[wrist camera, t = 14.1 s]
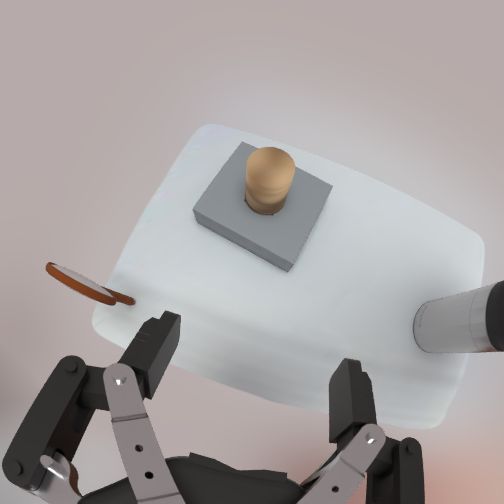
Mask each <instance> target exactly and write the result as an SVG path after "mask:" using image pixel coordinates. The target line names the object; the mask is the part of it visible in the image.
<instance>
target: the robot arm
mask: <svg viewBox="0 0 504 504" xmlns="http://www.w3.org/2000/svg"><path fill="white" fill-rule="evenodd" d="M180 323H181V315H178V314H175V313H172V312H169V311H165V312H164V313H163V314H162V316H161V318H160V319H156V318H153V317H152V318H151V319H149V320H147V321H146V322H144V323H143V325H142V326H141V328H140V329H139V332H137V334H136V336H135V338H134V339H133V340H132V342H131V343H130V345H129V346H128V348H127V349H126V351H125V352H124V354H123V356H122V357H121V359H120V360H119V361H118V362H117V363H116V364H112V365H110V366H108V367H107V368H100V367H94V366H88V365H86V364H85V362H84V361H83V360H82V359H81V358H80V357H77V356H66V357H64V358H63V359H61V360H60V362H59V363H58V364H57V366H56V368H55V369H54V370H53V372H52V374H51V375H50V377H49V378H48V380H47V382H46V383H45V384H44V386H43V388H42V389H41V391H40V393H39V394H38V396H37V398H36V399H35V401H34V402H33V404H32V406H31V408H30V409H29V411H28V413H27V415H26V416H25V418H24V420H23V422H22V423H21V425H20V427H19V429H18V431H17V433H16V435H15V436H14V438H13V440H12V442H11V444H10V446H9V448H8V450H7V453H6V454H5V457H4V459H3V462H2V468H3V472H4V474H5V476H6V477H7V479H8V480H9V481H10V482H12V483H13V484H15V485H17V486H19V487H20V488H22V489H23V490H25V491H27V492H29V493H31V494H33V495H36V496H38V497H40V498H42V499H43V500H45V501H46V502H48V503H49V504H345V503H346V502H347V500H348V499H349V498H350V497H351V496H352V494H353V493H354V492H355V491H356V489H357V488H358V487H359V485H360V484H361V483H362V481H363V480H364V478H365V476H364V472H367V490H366V504H425V494H424V493H425V492H424V472H423V460H422V449H421V445H420V444H419V442H418V441H417V440H416V439H414V438H410V437H408V438H405V439H403V440H402V441H398V440H395V439H392V438H389V437H387V436H385V433H384V431H383V429H382V428H381V427H379V426H378V425H377V420H376V412H375V404H374V399H373V391H372V383H371V380H370V378H369V376H368V374H367V373H366V372H362V368H361V363H360V361H359V360H353V359H348V358H345V359H343V361H342V362H341V364H340V365H339V367H338V368H337V370H336V371H335V372H334V374H333V375H332V377H331V379H330V383H329V418H330V419H329V443H337V449H335V450H334V452H333V453H332V454H331V455H330V456H329V457H328V458H327V459H326V460H325V461H324V462H323V463H322V464H321V466H320V467H319V468H318V469H317V470H316V471H315V472H314V473H313V474H312V475H310V476H309V477H308V478H307V479H305V480H304V481H303V482H302V483H301V484H300V485H299V484H297V483H296V482H294V481H292V480H290V479H288V478H287V473H284V472H275V471H270V470H242V471H240V470H236V469H234V468H231V467H230V466H227V465H225V464H223V463H221V462H219V461H217V460H215V459H212V458H208V457H205V456H201V455H198V454H194V453H191V452H190V455H189V457H187V456H177V457H170V458H166V459H164V457H163V455H162V452H161V450H160V447H159V444H158V442H157V439H156V437H155V434H154V431H153V428H152V426H151V423H150V420H149V417H148V415H147V413H146V410H145V407H144V404H143V400H144V398H145V397H146V398H148V399H152V397H153V395H154V393H155V391H156V389H157V387H158V385H159V383H160V380H161V379H162V376H163V374H164V372H165V370H166V368H167V366H168V364H169V362H170V360H171V358H172V356H173V354H174V352H175V350H176V348H177V345H178V342H179V337H180ZM414 336H415V340H416V342H417V344H418V345H419V347H420V348H421V349H422V350H424V351H426V352H432V353H479V352H500V351H501V352H503V351H504V281H501V282H498V283H495V284H491V285H488V286H485V287H482V288H478V289H475V290H471V291H468V292H464V293H461V294H457V295H453V296H449V297H445V298H441V299H437V300H434V301H430V302H427V303H425V304H424V305H423V306H422V307H421V308H420V309H419V311H418V312H417V314H416V317H415V321H414ZM96 409H100V410H106V411H110V413H111V417H112V420H111V421H112V426H113V430H114V434H115V438H116V441H117V444H118V448H119V451H120V454H121V458H122V461H123V464H124V467H125V470H126V472H127V475H128V477H126V478H124V479H122V480H120V481H117V482H115V483H113V484H110V485H108V486H106V487H103V488H101V489H98V490H96V491H93V492H90V493H88V494H86V495H84V496H82V495H81V493H80V492H79V489H78V486H77V485H78V472H77V470H76V468H75V467H74V465H73V464H72V463H71V461H72V459H73V457H74V455H75V452H76V450H77V448H78V445H79V443H80V441H81V439H82V437H83V435H84V433H85V430H86V428H87V426H88V424H89V422H90V420H91V418H92V416H93V414H94V412H95V410H96Z"/></svg>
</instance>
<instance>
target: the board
mask: <svg viewBox="0 0 504 504" xmlns="http://www.w3.org/2000/svg"><path fill="white" fill-rule="evenodd" d="M256 150H258V148H256V147H254V146H251V145H249V144H247V143H245V142H241V144H240V145H239V146H238V148H237V149H236V150H235V151H234V153H233V154H232V155H231V157H230V158H229V159H228V161H227V162H226V163H225V165H224V166H223V167H222V169H221V170H220V171H219V173H218V174H217V175H216V177H215V178H214V179H213V181H212V182H211V184H210V185H209V186H208V188H207V189H206V191H205V192H204V193H203V195H202V196H201V198H200V199H199V200H198V202H197V203H196V205H195V206H194V208H193V212H194V215H195V217H196V220H197V222H198V223H199V224H201V225H203V226H205V227H207V228H209V229H210V230H212V231H214V232H216V233H218V234H219V235H221V236H223V237H225V238H227V239H228V240H230V241H232V242H234V243H236V244H238V245H239V246H241V247H243V248H245V249H247V250H248V251H250V252H252V253H254V254H256V255H257V256H259V257H261V258H263V259H265V260H267V261H268V262H270V263H272V264H274V265H276V266H277V267H279V268H281V269H283V270H285V271H287V272H288V271H289V269H290V268H291V267H292V265H293V264H294V262H295V260H296V258H297V257H298V255H299V253H300V251H301V249H302V247H303V245H304V243H305V241H306V239H307V237H308V235H309V233H310V231H311V229H312V228H313V226H314V224H315V222H316V220H317V218H318V216H319V214H320V212H321V210H322V208H323V206H324V204H325V202H326V200H327V198H328V196H329V193H330V191H331V189H332V187H333V186H331V185H330V184H328V183H326V182H324V181H322V180H320V179H318V178H317V177H315V176H313V175H311V174H309V173H307V172H305V171H303V170H301V169H299V168H297V167H295V173H294V176H293V179H292V182H291V185H290V188H289V191H288V194H287V197H286V202H285V204H284V206H283V208H282V209H281V210H280V211H279V212H277V213H275V214H273V216H272V215H261V214H258V213H255V212H254V211H252V210H251V209H250V208H249V207H248V205H247V203H246V200H245V191H246V167H247V160H248V158H249V156H250V155H251V154H252V153H253V152H254V151H256Z"/></svg>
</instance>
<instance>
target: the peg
mask: <svg viewBox="0 0 504 504" xmlns="http://www.w3.org/2000/svg"><path fill="white" fill-rule="evenodd" d="M294 173H295V164H294V161H293V159H292V158H291V157H290V155H289V154H287V153H286V152H285V151H283V150H281V149H278V148H274V147H264V148H260V149H258V150H256V151H254V152H253V153H252V154H251V155H250V156H249V158H248V160H247V167H246V191H245V200H246V203H247V205H248V207H249V208H250V209H251V210H252V211H254V212H255V213H258V214H261V215H272V214H275V213H277V212H279V211H280V210H281V209H282V208H283V206H284V204H285V202H286V197H287V194H288V191H289V188H290V185H291V182H292V179H293V176H294Z"/></svg>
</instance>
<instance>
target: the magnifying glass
mask: <svg viewBox="0 0 504 504" xmlns="http://www.w3.org/2000/svg"><path fill="white" fill-rule="evenodd" d="M46 271H47V272H48V273H49V274H50V275H51V276H53V277H54V278H55V279H57V280H59V281H60V282H61V283H63V284H64V285H65V286H67V287H69V288H70V289H72V290H74V291H76V292H78V293H80V294H81V295H84V296H86V297H88V298H91V299H93V300H96V301H99V302H101V303H104V304H107V305H115V304H116V301H117V302H121V303H124V304H127V305H133V304H134V303H135V301H134V299H133V298H131V297H129V296H126V295H123V294H120V293H118V292H115V291H112V290H110V289H107V288H105V287H102V286H99V285H98V284H96V283H95V282H93V281H92V280H90V279H88V278H86V277H84V276H83V275H81V274H78V273H76V272H74V271H72V270H70V269H67V268H65V267H62V266H58V265H56V264H54V263H51V262H49V263H48V264H47V265H46Z"/></svg>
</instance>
